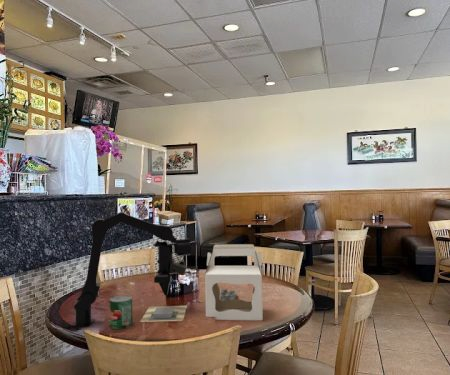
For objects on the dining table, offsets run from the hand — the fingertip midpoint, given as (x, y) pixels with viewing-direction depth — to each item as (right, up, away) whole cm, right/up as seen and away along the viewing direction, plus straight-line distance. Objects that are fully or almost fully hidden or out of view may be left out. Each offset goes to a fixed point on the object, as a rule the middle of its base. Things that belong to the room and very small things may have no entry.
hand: (166, 295), depth 143 cm
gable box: (+28, -7, -2) cm, 29 cm away
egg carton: (+26, -8, +19) cm, 33 cm away
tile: (0, -5, -2) cm, 5 cm away
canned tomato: (-14, -8, -15) cm, 22 cm away
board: (0, -7, -3) cm, 8 cm away
